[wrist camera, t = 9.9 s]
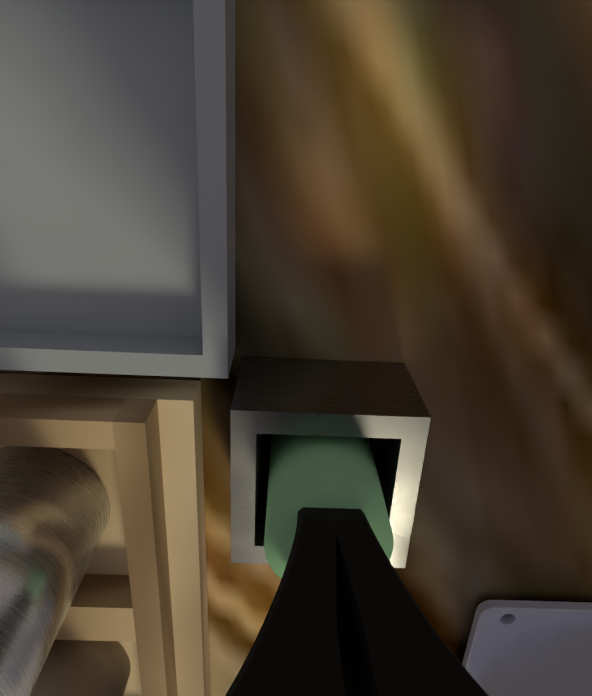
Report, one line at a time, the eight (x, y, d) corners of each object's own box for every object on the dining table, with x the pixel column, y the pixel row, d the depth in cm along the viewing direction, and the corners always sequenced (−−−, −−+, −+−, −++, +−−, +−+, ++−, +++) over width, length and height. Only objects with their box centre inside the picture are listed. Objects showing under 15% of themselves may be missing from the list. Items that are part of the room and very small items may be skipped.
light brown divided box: (200, 380, 15) (123, 586, 8) (210, 697, 20) (169, 977, 13) (-118, 368, 14) (-472, 568, 8) (-21, 691, 20) (-179, 973, 13)
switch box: (404, 363, 14) (431, 417, 12) (385, 493, 16) (404, 568, 13) (242, 356, 14) (230, 409, 11) (241, 489, 16) (230, 562, 13)
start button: (371, 397, 14) (401, 495, 10) (362, 479, 15) (385, 595, 11) (272, 394, 14) (265, 491, 10) (270, 476, 15) (262, 591, 11)
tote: (235, -41, 11) (224, -73, 9) (235, 350, 14) (227, 378, 13) (-200, -66, 10) (-292, -104, 9) (-91, 337, 14) (-143, 364, 12)
